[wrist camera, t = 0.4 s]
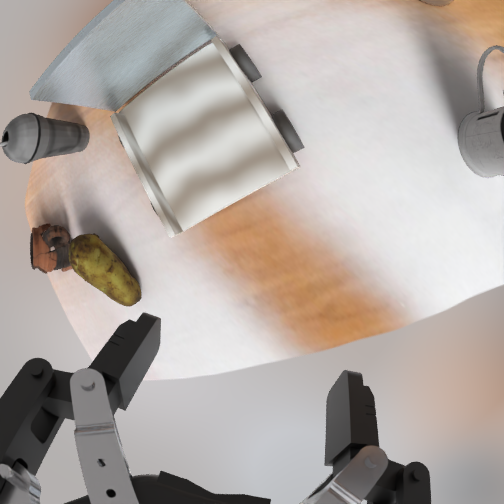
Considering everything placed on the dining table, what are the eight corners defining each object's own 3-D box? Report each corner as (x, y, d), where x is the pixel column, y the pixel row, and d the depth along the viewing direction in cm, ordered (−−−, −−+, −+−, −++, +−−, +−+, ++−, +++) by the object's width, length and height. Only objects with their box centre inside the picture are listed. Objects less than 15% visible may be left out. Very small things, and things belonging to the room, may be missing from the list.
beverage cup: (100, 123, 39) (-6, 116, 21) (87, 165, 42) (-17, 177, 23) (74, 112, 40) (-24, 107, 21) (62, 152, 42) (-34, 160, 24)
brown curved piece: (71, 281, 50) (32, 283, 44) (64, 239, 53) (28, 239, 47) (83, 247, 43) (36, 248, 37) (77, 201, 46) (34, 199, 40)
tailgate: (217, 35, 27) (157, -24, 14) (115, 111, 33) (31, 99, 20) (210, 25, 27) (150, -33, 14) (111, 101, 32) (28, 87, 19)
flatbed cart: (313, 162, 34) (310, 160, 28) (187, 231, 40) (161, 243, 34) (241, 46, 32) (224, 24, 25) (131, 123, 38) (100, 118, 32)
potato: (117, 305, 47) (88, 325, 40) (88, 234, 45) (54, 246, 38) (152, 295, 45) (123, 318, 37) (121, 217, 42) (86, 228, 35)
